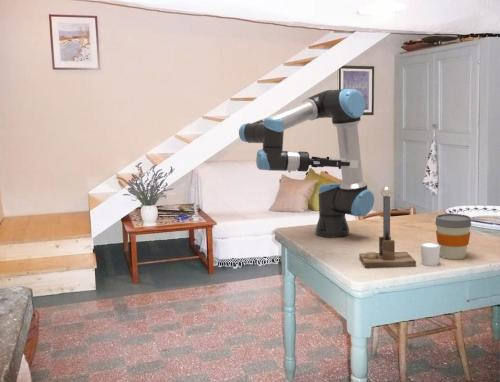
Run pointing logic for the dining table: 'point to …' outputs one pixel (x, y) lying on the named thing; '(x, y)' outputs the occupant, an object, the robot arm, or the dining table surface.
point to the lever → (386, 212)
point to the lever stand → (386, 256)
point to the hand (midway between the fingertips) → (351, 163)
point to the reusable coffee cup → (453, 235)
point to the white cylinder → (430, 254)
